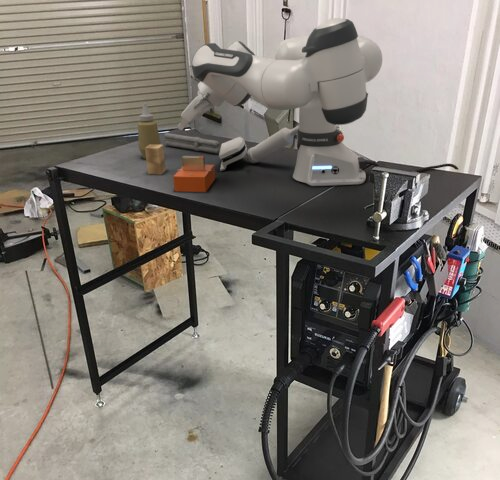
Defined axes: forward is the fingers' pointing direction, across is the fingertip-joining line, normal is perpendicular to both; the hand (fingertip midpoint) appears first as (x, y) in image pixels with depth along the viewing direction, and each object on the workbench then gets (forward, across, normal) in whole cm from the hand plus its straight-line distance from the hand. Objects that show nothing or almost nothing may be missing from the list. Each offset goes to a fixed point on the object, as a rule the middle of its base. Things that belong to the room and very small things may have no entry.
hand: (184, 125), depth 167 cm
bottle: (-4, +14, -22) cm, 26 cm away
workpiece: (+18, -1, -3) cm, 18 cm away
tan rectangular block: (+3, -12, -12) cm, 17 cm away
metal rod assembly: (+16, +28, -6) cm, 33 cm away
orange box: (+6, -12, -15) cm, 20 cm away
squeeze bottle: (+24, +17, +3) cm, 30 cm away
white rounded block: (+2, +11, -14) cm, 17 cm away
